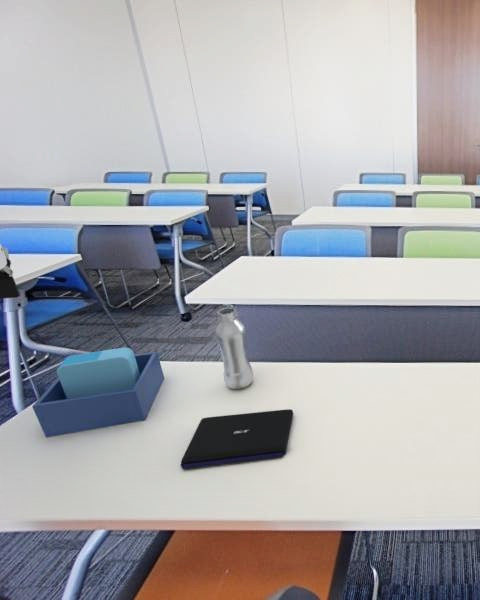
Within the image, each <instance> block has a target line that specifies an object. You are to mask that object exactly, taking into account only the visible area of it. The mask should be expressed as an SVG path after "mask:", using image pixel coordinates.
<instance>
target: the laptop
mask: <svg viewBox="0 0 480 600" xmlns="http://www.w3.org/2000/svg"><path fill="white" fill-rule="evenodd" d="M293 417H294V410H293V409H290V408H289V409H277V410H267V411H258V412H257V411H256V412H249V413H248V412H247V413H238V414H228V415H220V416H219V415H217V416H207V417H203V418H202V419H200V421H199V423H198V426H197V427H196V429H195V431H194V433H193V436H192V438H191V439H190V442H189V444H188V446H187V448H186V450H185V451H184V454H183V456H182V458H181V461H180V467H181V469H182V470H186V469H195V468H202V467H209V466H211V467H212V466H218V465H228V464H234V463H235V464H236V463H242V462H250V461H259V460H268V459H275V458H282V457H284V456H285V455H286V453H287V448H288V444H289V438H290V433H291V428H292V422H293Z"/></svg>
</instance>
